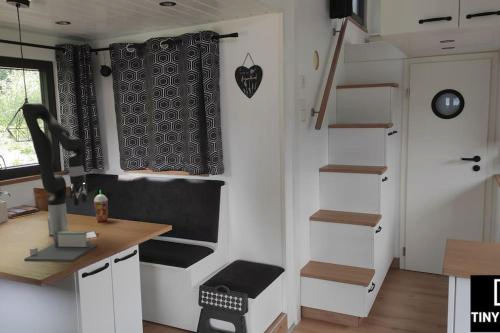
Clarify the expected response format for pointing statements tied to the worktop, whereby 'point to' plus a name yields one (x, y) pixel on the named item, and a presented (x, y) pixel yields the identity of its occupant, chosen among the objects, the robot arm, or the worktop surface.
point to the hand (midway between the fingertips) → (80, 203)
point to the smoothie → (101, 207)
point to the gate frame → (59, 252)
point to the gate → (72, 239)
